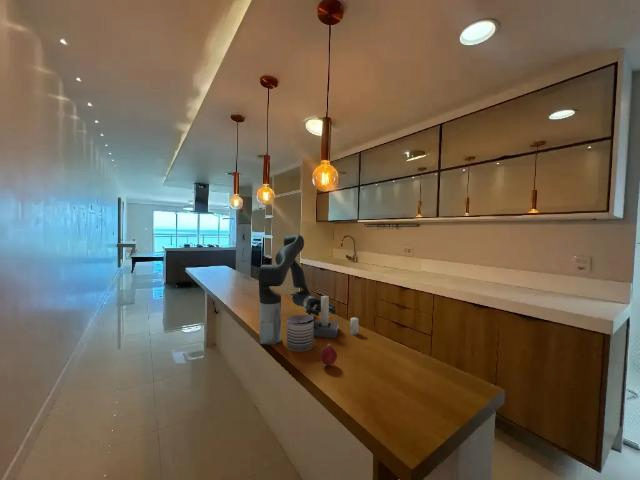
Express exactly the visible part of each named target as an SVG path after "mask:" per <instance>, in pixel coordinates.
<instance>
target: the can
mask: <svg viewBox="0 0 640 480" xmlns="http://www.w3.org/2000/svg"><path fill="white" fill-rule="evenodd" d="M313 334H314V315H308V314H300V315H298V314H297V315H294V316H290V317H288V318H287V319H286V348H287V349H288V350H291V351H292V352H306V351H310V350H312V348H313V347H314V336H313Z"/></svg>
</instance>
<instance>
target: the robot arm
mask: <svg viewBox="0 0 640 480" xmlns="http://www.w3.org/2000/svg"><path fill="white" fill-rule="evenodd" d="M304 248H305V239H304V237H303V236H302V235H300V234H294V235H293V234H292V235H287V236H284V239H283V247H281V248H280V249H279V250H278V252H277V253H276V254H275V259H274V261H275V264H262V265H261V266H260V267H259V270H258V275H257V276H258V296H259V344H261V345H273V346H275V345H276V344H278V343H280V342H281V341H282V295H281V294H280V293H279V292H276V291H274V290H272V288H271V287H280V286H282V285H283V284H284V282H285V280H286V277H287V275H288V272H289V270H290V271H291V272H290V273H291V279H292V284H293V287H294V288H296V289H298V288H299V289H301V290H300V291H296V292H294V293H293V294H292V296H291V300H292V302H293V304H294V305H295V306H298V307H303V308H304V309H305V310H304V312H305V313H306V315H310V316H316V317H319V316H320V313H321V299H319V298H317V297H315V296H313V295H311V293H310V291H309V289H308V286H307V284H306V278H305V273H304V270H303V268H302V266H300V264H299V263H298V261H296V257H298V255H299V254H300V253H301V252H302V251H303V250H304ZM336 312H337V311H336V306H335V305H333V304H331V303H329V313H330V314H333V315H335V314H336Z"/></svg>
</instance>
